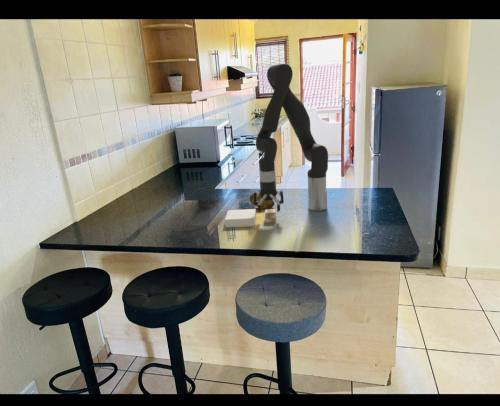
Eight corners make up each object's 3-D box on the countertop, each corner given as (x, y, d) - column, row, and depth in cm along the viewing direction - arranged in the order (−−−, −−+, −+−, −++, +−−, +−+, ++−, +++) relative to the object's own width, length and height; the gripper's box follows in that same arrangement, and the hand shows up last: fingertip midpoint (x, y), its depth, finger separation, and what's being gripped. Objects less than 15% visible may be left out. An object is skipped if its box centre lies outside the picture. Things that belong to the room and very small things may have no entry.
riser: (256, 216, 191) (255, 208, 189) (254, 226, 178) (254, 218, 177) (228, 217, 192) (228, 210, 191) (225, 227, 180) (224, 219, 178)
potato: (267, 212, 195) (266, 197, 193) (248, 208, 203) (246, 194, 200) (276, 207, 202) (275, 192, 199) (257, 203, 209) (255, 190, 207)
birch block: (275, 218, 186) (275, 208, 184) (276, 222, 181) (275, 212, 180) (265, 218, 186) (265, 209, 185) (265, 222, 182) (264, 212, 180)
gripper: (282, 176, 180) (283, 208, 185) (253, 178, 182) (255, 209, 187) (282, 181, 173) (284, 214, 178) (252, 182, 175) (254, 214, 180)
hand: (269, 211), depth 183 cm, fingers open, 8 cm apart
